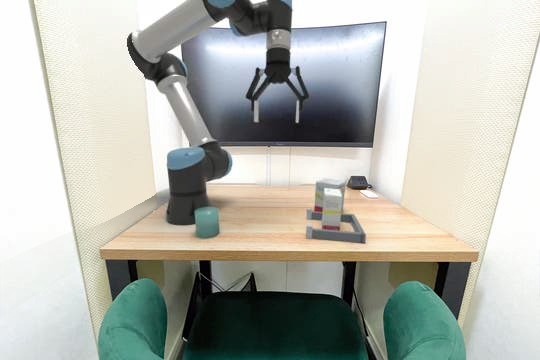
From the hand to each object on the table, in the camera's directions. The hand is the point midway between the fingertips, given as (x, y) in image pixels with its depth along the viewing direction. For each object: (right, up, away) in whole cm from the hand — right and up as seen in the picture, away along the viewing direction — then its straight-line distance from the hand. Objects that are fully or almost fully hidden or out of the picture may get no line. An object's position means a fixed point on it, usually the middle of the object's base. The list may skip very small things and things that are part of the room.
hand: (276, 122), depth 69 cm
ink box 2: (+16, -34, -5) cm, 38 cm away
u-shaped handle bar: (+17, -34, -5) cm, 38 cm away
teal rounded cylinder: (-20, -34, -8) cm, 41 cm away
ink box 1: (+20, -31, +10) cm, 38 cm away
